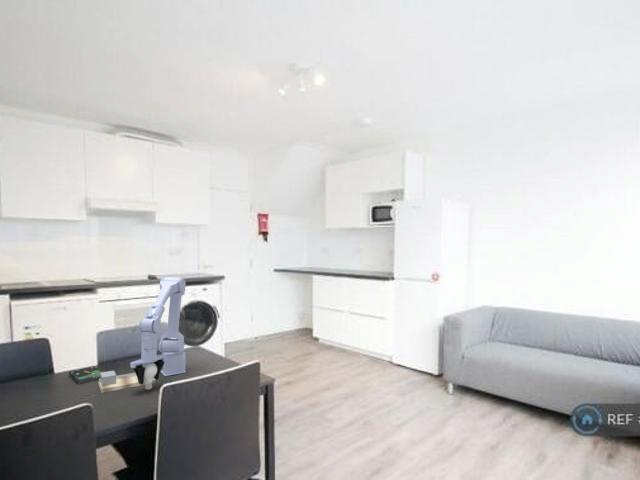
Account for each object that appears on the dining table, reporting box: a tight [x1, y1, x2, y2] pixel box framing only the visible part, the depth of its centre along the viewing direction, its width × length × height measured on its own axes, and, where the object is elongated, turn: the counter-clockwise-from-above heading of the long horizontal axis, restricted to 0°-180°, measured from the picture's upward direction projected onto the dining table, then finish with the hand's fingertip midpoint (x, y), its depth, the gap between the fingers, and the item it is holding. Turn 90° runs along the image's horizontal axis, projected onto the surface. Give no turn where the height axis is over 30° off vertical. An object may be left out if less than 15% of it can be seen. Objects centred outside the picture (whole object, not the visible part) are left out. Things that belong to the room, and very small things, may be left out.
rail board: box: [98, 370, 156, 394], centre depth 161 cm, size 20×11×5 cm, turn 125°
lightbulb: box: [142, 362, 157, 391], centre depth 155 cm, size 6×6×11 cm
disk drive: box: [68, 366, 102, 385], centre depth 168 cm, size 10×3×15 cm
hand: (148, 381), depth 155 cm, fingers closed on lightbulb, 6 cm apart
